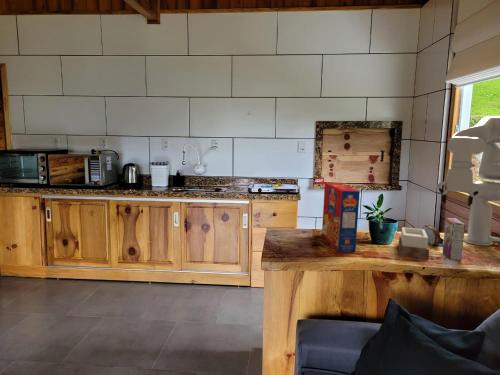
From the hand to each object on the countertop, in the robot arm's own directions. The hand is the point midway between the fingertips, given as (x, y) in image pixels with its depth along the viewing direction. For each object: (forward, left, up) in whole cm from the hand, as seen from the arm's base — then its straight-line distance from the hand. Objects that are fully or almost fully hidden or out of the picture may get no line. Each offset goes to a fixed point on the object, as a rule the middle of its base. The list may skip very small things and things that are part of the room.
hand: (456, 204), depth 164 cm
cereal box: (+50, +2, -24) cm, 55 cm away
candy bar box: (0, 0, -24) cm, 24 cm away
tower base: (+16, 0, -24) cm, 29 cm away
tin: (+7, -20, -24) cm, 32 cm away
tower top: (+16, -1, -19) cm, 25 cm away
